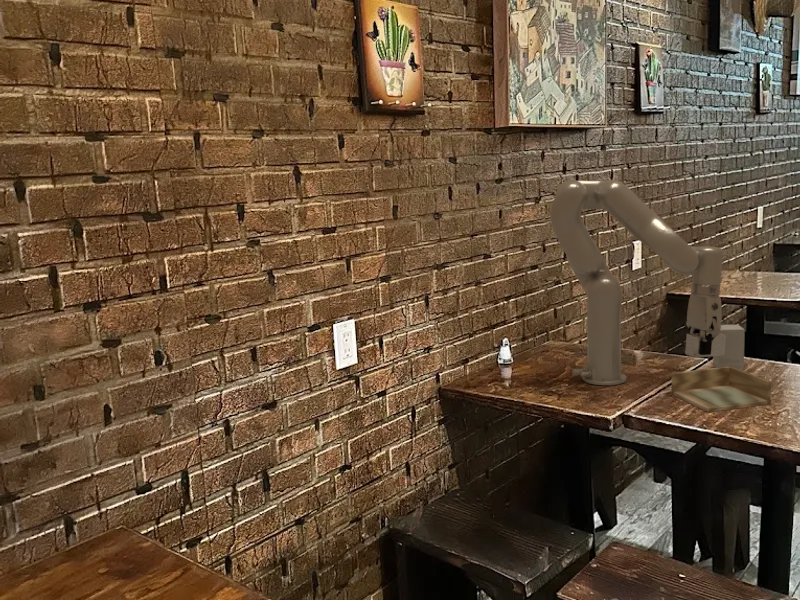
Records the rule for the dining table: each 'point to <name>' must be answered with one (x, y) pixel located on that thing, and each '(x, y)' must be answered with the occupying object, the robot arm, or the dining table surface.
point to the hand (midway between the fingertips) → (700, 351)
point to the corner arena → (721, 388)
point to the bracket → (695, 343)
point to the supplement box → (732, 347)
